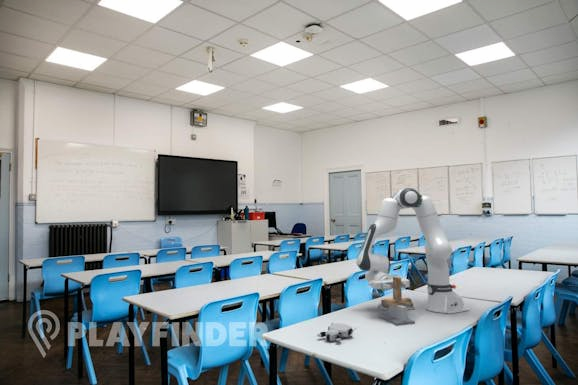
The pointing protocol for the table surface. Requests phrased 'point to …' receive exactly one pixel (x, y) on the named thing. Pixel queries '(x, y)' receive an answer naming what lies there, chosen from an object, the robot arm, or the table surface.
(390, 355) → the table surface
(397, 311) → the ridge stand
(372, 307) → the table surface
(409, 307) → the packaged product
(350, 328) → the robot toy
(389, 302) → the wooden t-shaped block
